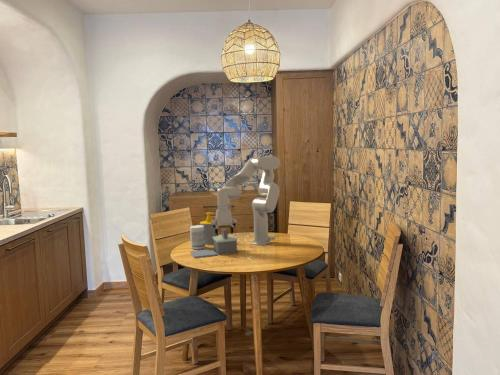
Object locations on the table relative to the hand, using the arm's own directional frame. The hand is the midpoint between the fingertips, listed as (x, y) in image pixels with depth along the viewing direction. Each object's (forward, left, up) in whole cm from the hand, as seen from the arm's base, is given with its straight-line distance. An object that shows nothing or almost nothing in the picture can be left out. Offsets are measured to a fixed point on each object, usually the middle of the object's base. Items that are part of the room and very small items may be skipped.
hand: (224, 234), depth 268 cm
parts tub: (0, 0, -12) cm, 12 cm away
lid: (0, 0, -4) cm, 4 cm away
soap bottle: (+3, -30, -12) cm, 32 cm away
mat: (+14, 0, -12) cm, 18 cm away
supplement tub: (+14, -18, -12) cm, 26 cm away
